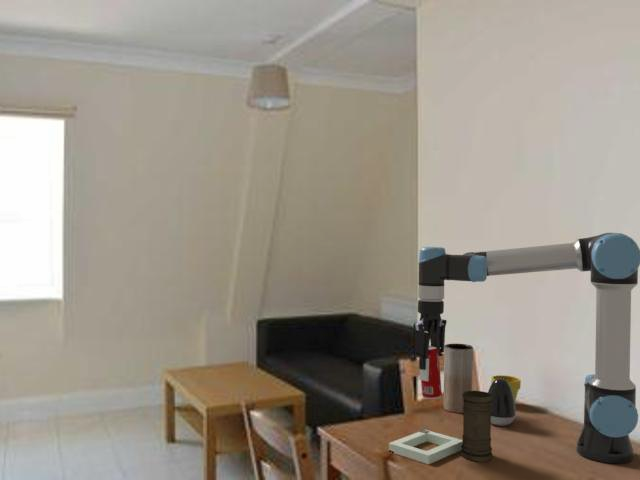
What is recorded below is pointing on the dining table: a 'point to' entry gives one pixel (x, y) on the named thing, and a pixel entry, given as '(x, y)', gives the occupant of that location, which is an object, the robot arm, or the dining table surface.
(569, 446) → the dining table surface
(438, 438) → the socket block
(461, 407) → the planter
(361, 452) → the dining table surface
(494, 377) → the plant pot
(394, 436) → the dining table surface
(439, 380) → the beverage can
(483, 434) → the container
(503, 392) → the dark grey domed cylinder
